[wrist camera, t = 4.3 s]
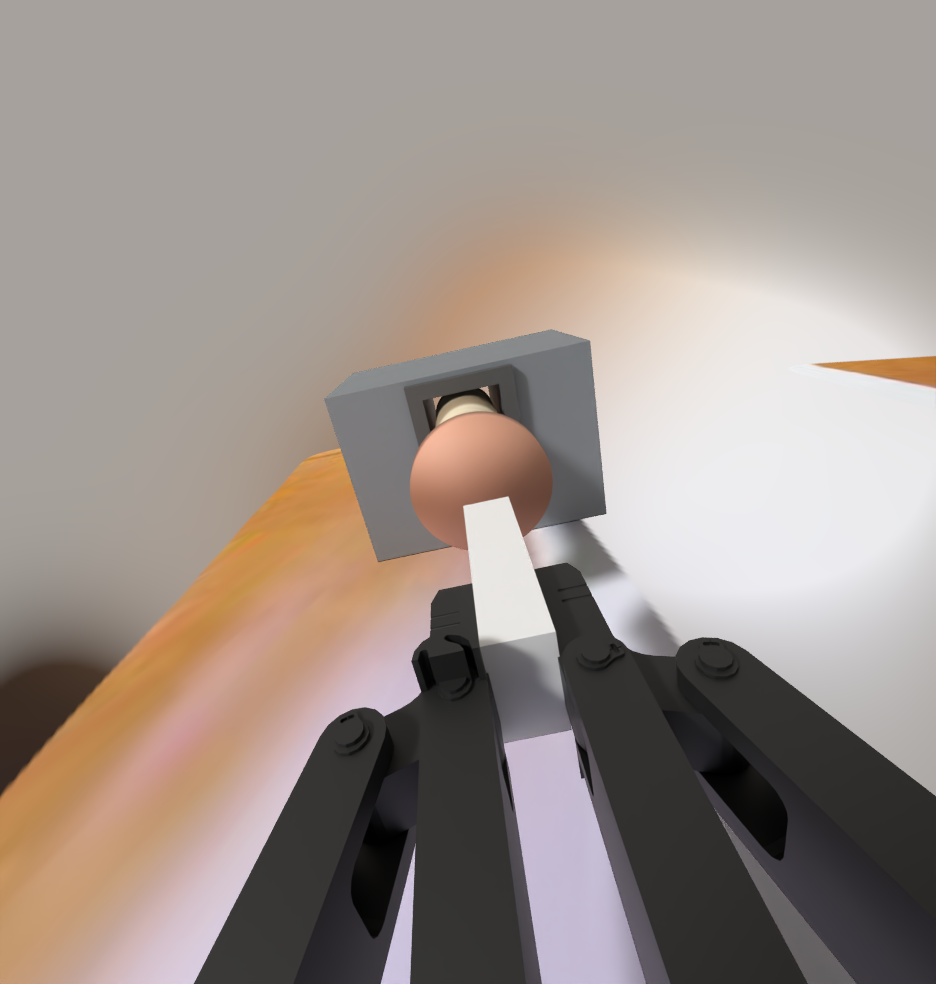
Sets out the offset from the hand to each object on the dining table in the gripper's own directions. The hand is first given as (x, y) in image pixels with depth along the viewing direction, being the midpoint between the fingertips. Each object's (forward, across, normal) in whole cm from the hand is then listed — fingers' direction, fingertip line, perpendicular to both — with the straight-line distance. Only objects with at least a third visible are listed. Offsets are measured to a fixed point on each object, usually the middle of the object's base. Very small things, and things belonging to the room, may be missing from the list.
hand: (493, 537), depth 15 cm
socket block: (+19, 0, -8) cm, 21 cm away
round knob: (+11, 0, -3) cm, 11 cm away
